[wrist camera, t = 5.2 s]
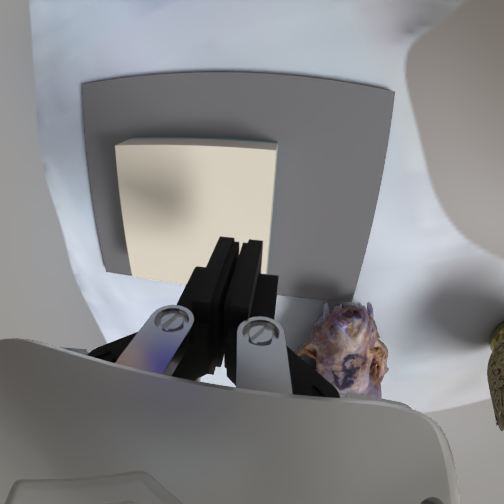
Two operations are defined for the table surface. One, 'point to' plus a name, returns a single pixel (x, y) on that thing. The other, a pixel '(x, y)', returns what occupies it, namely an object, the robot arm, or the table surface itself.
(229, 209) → the tile
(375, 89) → the mat
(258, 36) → the table surface
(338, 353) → the skull
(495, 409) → the cup
